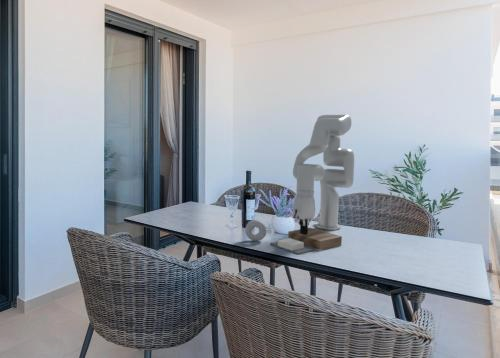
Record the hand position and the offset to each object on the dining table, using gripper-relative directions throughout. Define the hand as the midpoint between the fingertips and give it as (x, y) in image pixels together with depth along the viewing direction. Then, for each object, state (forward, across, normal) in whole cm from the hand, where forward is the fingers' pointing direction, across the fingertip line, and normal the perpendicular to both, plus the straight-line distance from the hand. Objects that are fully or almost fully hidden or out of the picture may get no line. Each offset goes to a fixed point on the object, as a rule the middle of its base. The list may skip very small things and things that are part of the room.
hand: (303, 233), depth 169 cm
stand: (+5, -7, 0) cm, 9 cm away
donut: (+5, +14, -17) cm, 23 cm away
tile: (+3, +8, +1) cm, 9 cm away
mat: (+5, +6, 0) cm, 8 cm away
